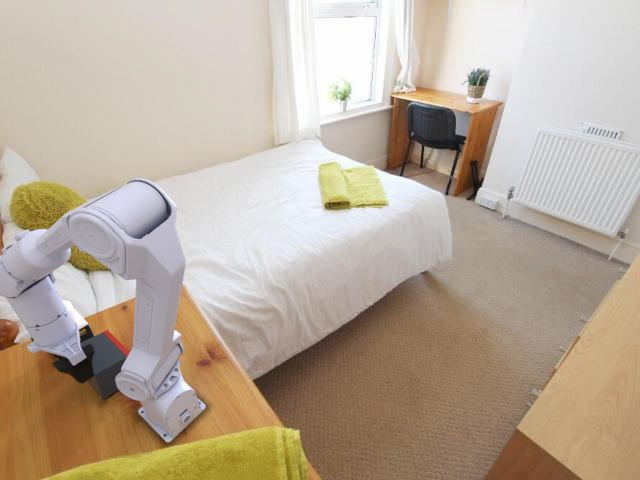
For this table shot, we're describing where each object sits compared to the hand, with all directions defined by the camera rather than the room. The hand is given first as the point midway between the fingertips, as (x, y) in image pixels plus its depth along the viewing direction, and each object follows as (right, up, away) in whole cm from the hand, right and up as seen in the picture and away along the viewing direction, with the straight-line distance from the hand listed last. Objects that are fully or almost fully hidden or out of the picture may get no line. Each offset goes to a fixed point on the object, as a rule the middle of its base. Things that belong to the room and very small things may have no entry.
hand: (77, 368), depth 62 cm
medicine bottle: (-9, 0, +12) cm, 15 cm away
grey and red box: (+1, -2, +2) cm, 3 cm away
